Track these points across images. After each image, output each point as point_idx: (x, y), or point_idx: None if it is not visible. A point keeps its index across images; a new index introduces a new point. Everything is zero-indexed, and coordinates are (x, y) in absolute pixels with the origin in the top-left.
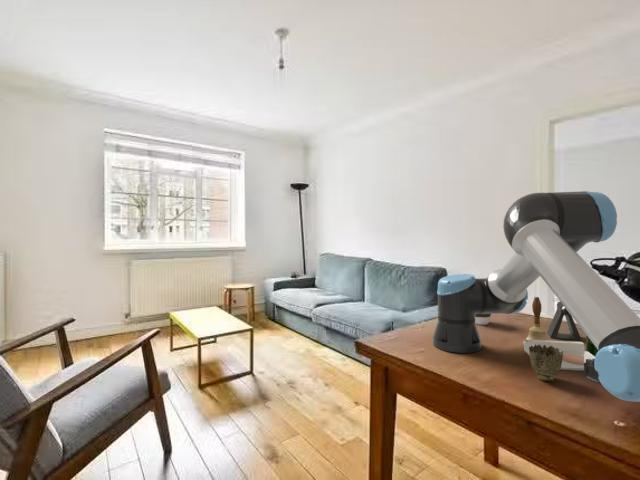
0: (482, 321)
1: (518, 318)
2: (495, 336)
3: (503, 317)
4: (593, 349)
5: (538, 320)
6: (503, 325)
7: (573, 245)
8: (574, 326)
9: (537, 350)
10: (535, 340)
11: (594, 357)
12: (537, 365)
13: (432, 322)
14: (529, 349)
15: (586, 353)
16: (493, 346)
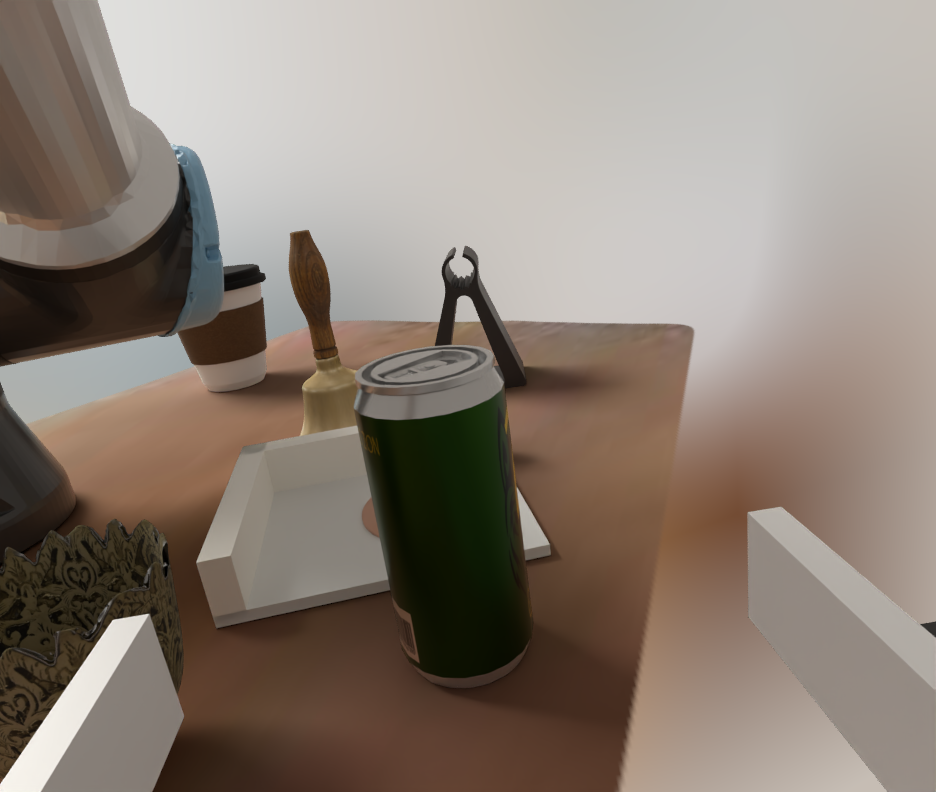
0: (229, 378)
1: (388, 339)
2: (218, 437)
3: (343, 345)
4: (386, 492)
5: (323, 339)
6: (309, 376)
7: None
8: (497, 335)
9: (73, 568)
10: (290, 439)
11: (28, 780)
12: None
13: (47, 420)
14: None
15: (86, 664)
16: (136, 503)
